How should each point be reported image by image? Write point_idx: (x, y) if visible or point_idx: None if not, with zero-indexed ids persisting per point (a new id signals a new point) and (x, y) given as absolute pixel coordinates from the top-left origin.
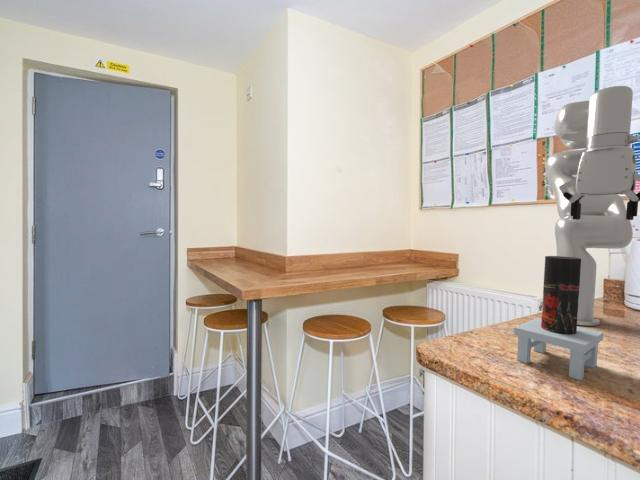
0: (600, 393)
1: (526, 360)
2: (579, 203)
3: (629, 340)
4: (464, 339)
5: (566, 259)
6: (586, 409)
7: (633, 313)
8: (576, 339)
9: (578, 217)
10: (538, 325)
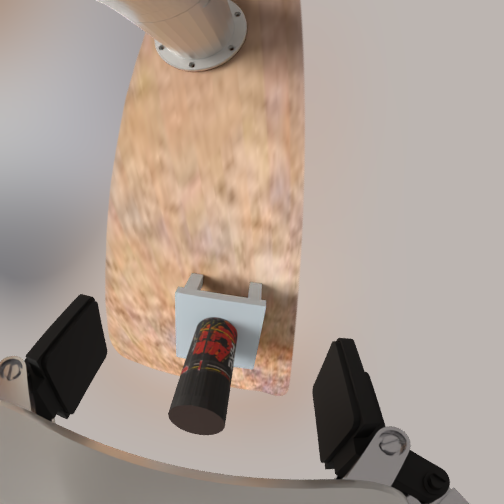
0: (269, 351)
1: None
2: (44, 374)
3: (297, 104)
4: (120, 300)
5: (208, 434)
6: (262, 380)
7: None
8: (242, 357)
9: (97, 331)
10: (192, 331)
